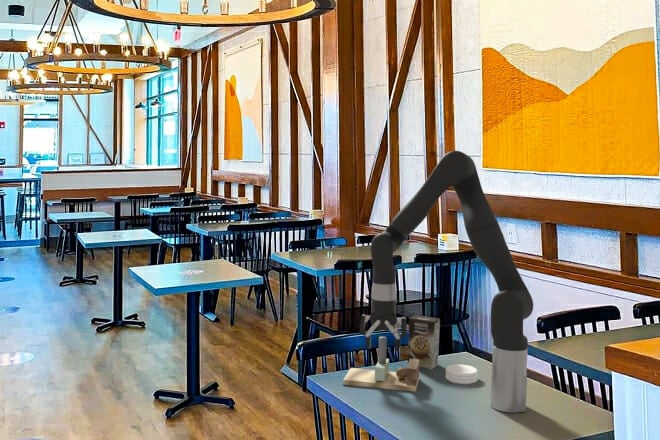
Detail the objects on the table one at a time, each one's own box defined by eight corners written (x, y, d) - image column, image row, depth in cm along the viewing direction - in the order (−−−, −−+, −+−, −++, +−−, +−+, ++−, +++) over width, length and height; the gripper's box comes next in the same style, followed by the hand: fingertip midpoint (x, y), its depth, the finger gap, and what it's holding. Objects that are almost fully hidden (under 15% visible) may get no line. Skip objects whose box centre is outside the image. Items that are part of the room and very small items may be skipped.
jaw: (388, 371, 197) (389, 333, 196) (384, 381, 187) (385, 342, 186) (379, 370, 198) (380, 333, 197) (374, 380, 188) (375, 341, 187)
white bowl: (484, 382, 194) (484, 371, 194) (456, 386, 190) (457, 375, 190) (465, 373, 203) (466, 362, 203) (439, 376, 200) (439, 365, 199)
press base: (419, 378, 196) (419, 358, 195) (415, 391, 184) (416, 370, 184) (350, 372, 201) (351, 352, 200) (342, 384, 189) (343, 363, 189)
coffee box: (406, 365, 210) (408, 318, 208) (413, 360, 215) (414, 314, 214) (432, 369, 205) (434, 321, 204) (438, 364, 211) (440, 317, 210)
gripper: (408, 296, 192) (407, 347, 194) (363, 293, 196) (362, 344, 197) (405, 301, 185) (404, 354, 186) (358, 298, 188) (357, 350, 189)
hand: (382, 349), depth 191 cm, fingers open, 8 cm apart
